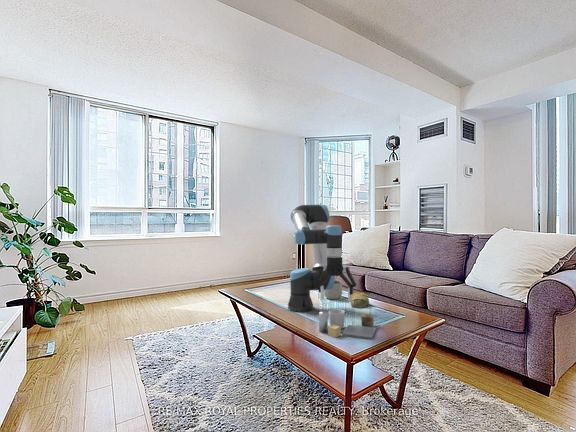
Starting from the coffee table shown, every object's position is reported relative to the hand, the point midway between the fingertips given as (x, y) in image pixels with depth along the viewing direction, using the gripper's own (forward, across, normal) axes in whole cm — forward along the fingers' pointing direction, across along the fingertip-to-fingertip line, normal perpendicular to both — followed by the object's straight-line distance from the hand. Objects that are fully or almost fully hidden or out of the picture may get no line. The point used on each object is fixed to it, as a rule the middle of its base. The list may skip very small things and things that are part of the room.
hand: (335, 300), depth 147 cm
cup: (+13, 0, 0) cm, 13 cm away
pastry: (+13, +3, +43) cm, 45 cm away
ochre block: (+13, +2, -11) cm, 17 cm away
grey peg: (+13, -4, -8) cm, 16 cm away
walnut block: (+13, +14, +7) cm, 20 cm away
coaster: (+13, +12, -4) cm, 18 cm away
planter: (+12, -16, +54) cm, 58 cm away
